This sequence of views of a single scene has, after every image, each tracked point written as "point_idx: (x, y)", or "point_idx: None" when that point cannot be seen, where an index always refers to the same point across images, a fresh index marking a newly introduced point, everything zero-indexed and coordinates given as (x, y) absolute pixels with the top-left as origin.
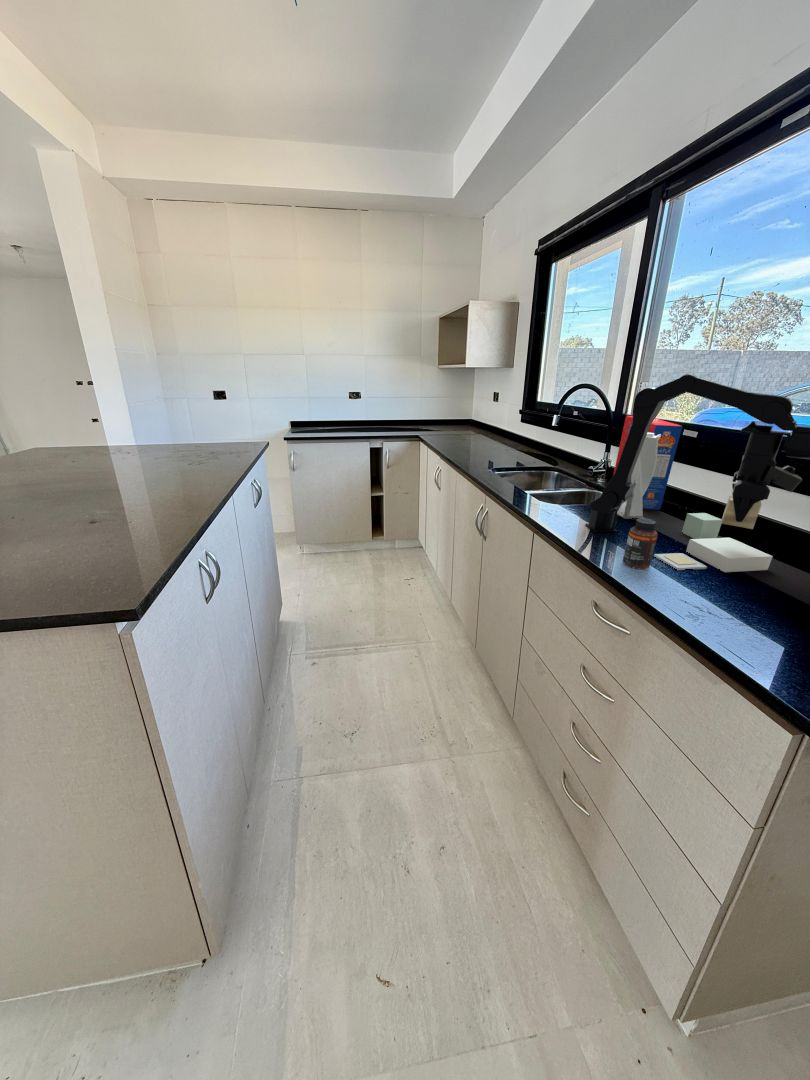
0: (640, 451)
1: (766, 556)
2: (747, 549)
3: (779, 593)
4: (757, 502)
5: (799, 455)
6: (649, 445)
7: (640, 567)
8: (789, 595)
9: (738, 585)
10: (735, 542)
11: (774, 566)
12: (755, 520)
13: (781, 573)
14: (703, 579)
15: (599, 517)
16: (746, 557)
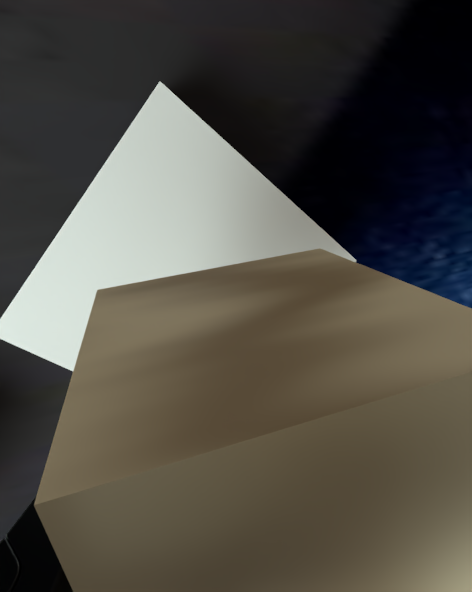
0: None
1: (196, 115)
2: (150, 217)
3: (403, 53)
4: (448, 424)
5: None
6: None
7: None
8: (401, 14)
9: (412, 188)
10: (68, 289)
11: (60, 65)
12: (367, 270)
13: (150, 32)
14: (424, 282)
15: None
16: (293, 204)
